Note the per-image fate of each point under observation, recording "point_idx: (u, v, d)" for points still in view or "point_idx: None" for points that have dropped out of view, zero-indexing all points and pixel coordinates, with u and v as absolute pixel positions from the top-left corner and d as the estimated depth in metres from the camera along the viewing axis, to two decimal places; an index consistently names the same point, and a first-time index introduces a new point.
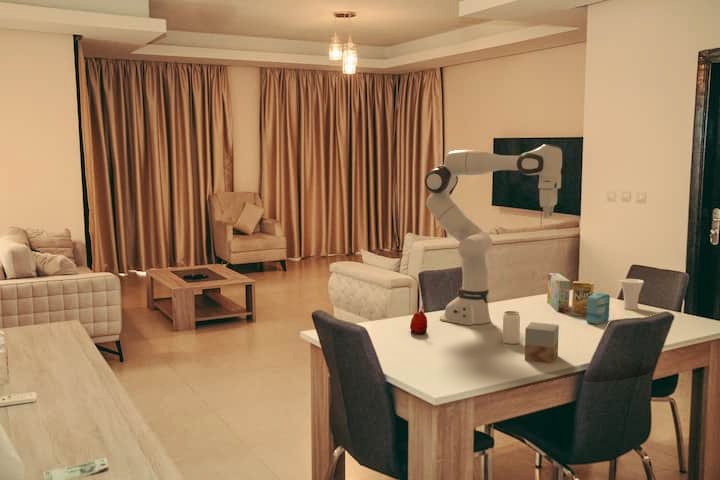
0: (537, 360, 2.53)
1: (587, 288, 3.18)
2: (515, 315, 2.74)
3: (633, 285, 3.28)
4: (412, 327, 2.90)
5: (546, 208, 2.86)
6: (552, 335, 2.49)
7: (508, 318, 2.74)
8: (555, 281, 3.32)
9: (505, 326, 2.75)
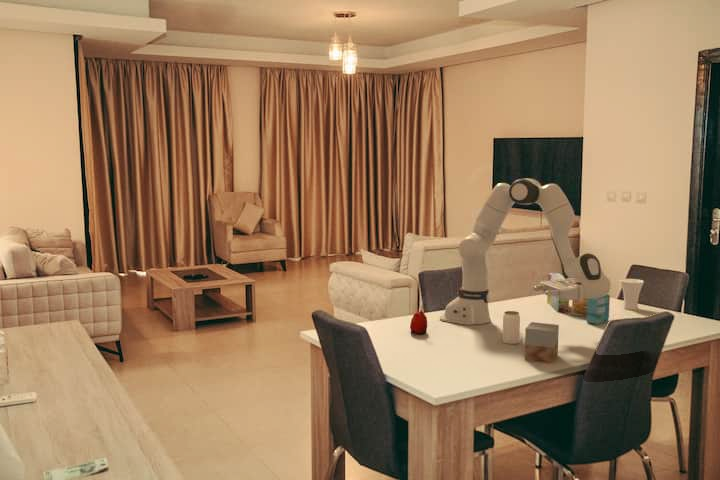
0: (537, 360, 2.53)
1: None
2: (515, 315, 2.74)
3: (633, 285, 3.28)
4: (412, 327, 2.90)
5: (557, 294, 2.73)
6: (552, 335, 2.49)
7: (508, 318, 2.74)
8: None
9: (505, 326, 2.75)
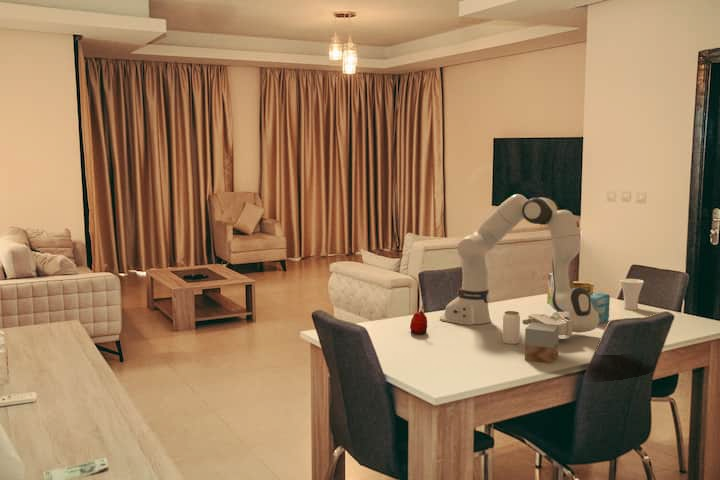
0: (537, 360, 2.53)
1: (587, 288, 3.18)
2: (515, 315, 2.74)
3: (633, 285, 3.28)
4: (412, 327, 2.90)
5: None
6: (552, 335, 2.49)
7: (507, 318, 2.74)
8: None
9: (505, 326, 2.75)
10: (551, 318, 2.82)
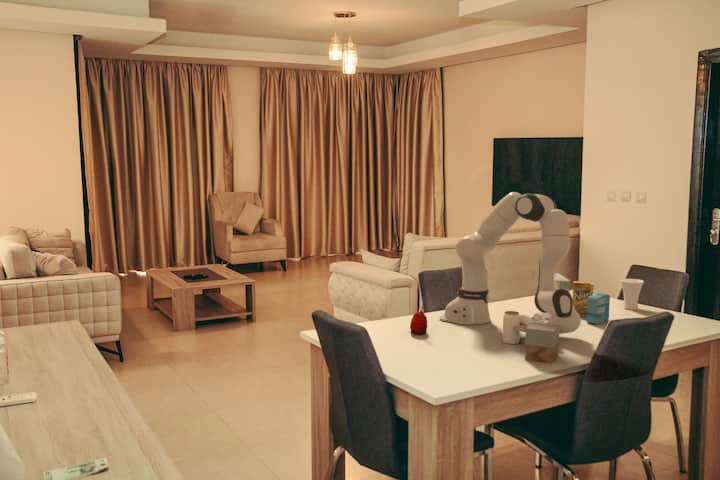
0: (537, 360, 2.53)
1: (587, 288, 3.18)
2: (515, 315, 2.74)
3: (633, 285, 3.28)
4: (412, 327, 2.90)
5: (525, 330, 2.72)
6: (552, 335, 2.49)
7: (508, 318, 2.74)
8: (555, 281, 3.32)
9: (505, 326, 2.75)
10: (532, 319, 2.80)
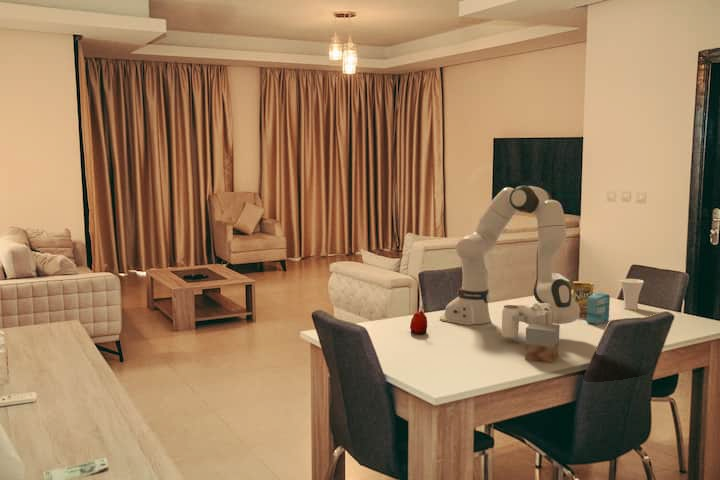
0: (537, 360, 2.53)
1: (587, 288, 3.18)
2: (515, 309, 2.74)
3: (633, 285, 3.28)
4: (412, 327, 2.90)
5: (524, 319, 2.72)
6: (552, 335, 2.50)
7: (507, 312, 2.74)
8: None
9: (504, 320, 2.75)
10: (531, 309, 2.80)
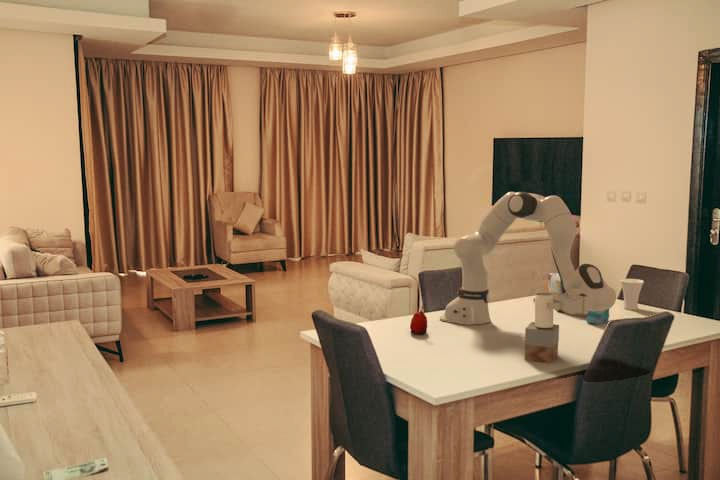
0: (537, 360, 2.53)
1: None
2: (548, 296, 2.51)
3: (633, 285, 3.28)
4: (412, 327, 2.90)
5: (560, 307, 2.49)
6: (552, 335, 2.49)
7: (541, 299, 2.51)
8: (555, 281, 3.32)
9: (538, 308, 2.52)
10: (565, 296, 2.58)
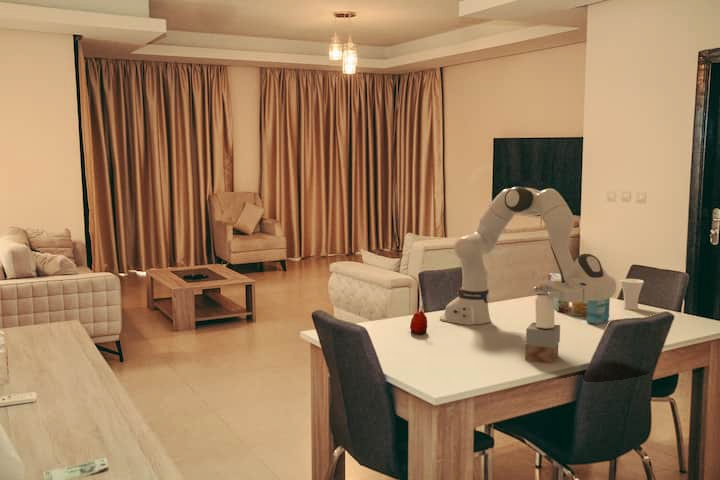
0: (537, 360, 2.53)
1: None
2: None
3: (633, 285, 3.28)
4: (412, 327, 2.90)
5: (560, 296, 2.49)
6: (553, 335, 2.49)
7: (541, 299, 2.50)
8: None
9: (539, 309, 2.51)
10: (565, 285, 2.57)
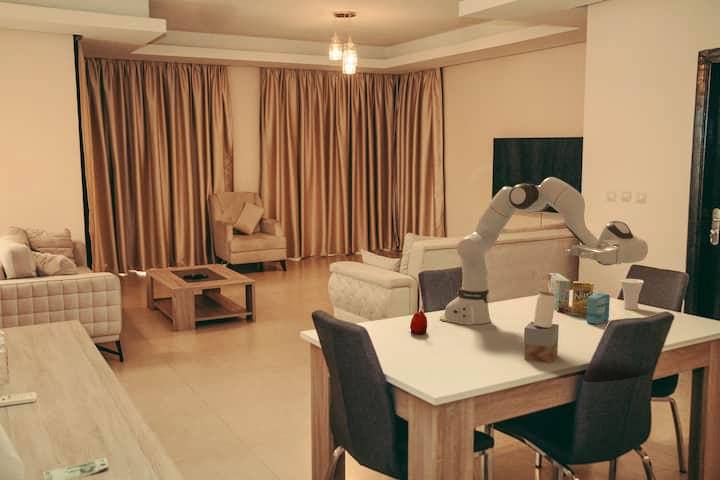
0: (537, 360, 2.53)
1: (587, 288, 3.18)
2: (550, 296, 2.51)
3: (633, 285, 3.28)
4: (412, 327, 2.90)
5: (594, 256, 2.50)
6: (551, 335, 2.50)
7: (542, 298, 2.52)
8: (555, 281, 3.32)
9: (538, 307, 2.53)
10: (597, 247, 2.59)
